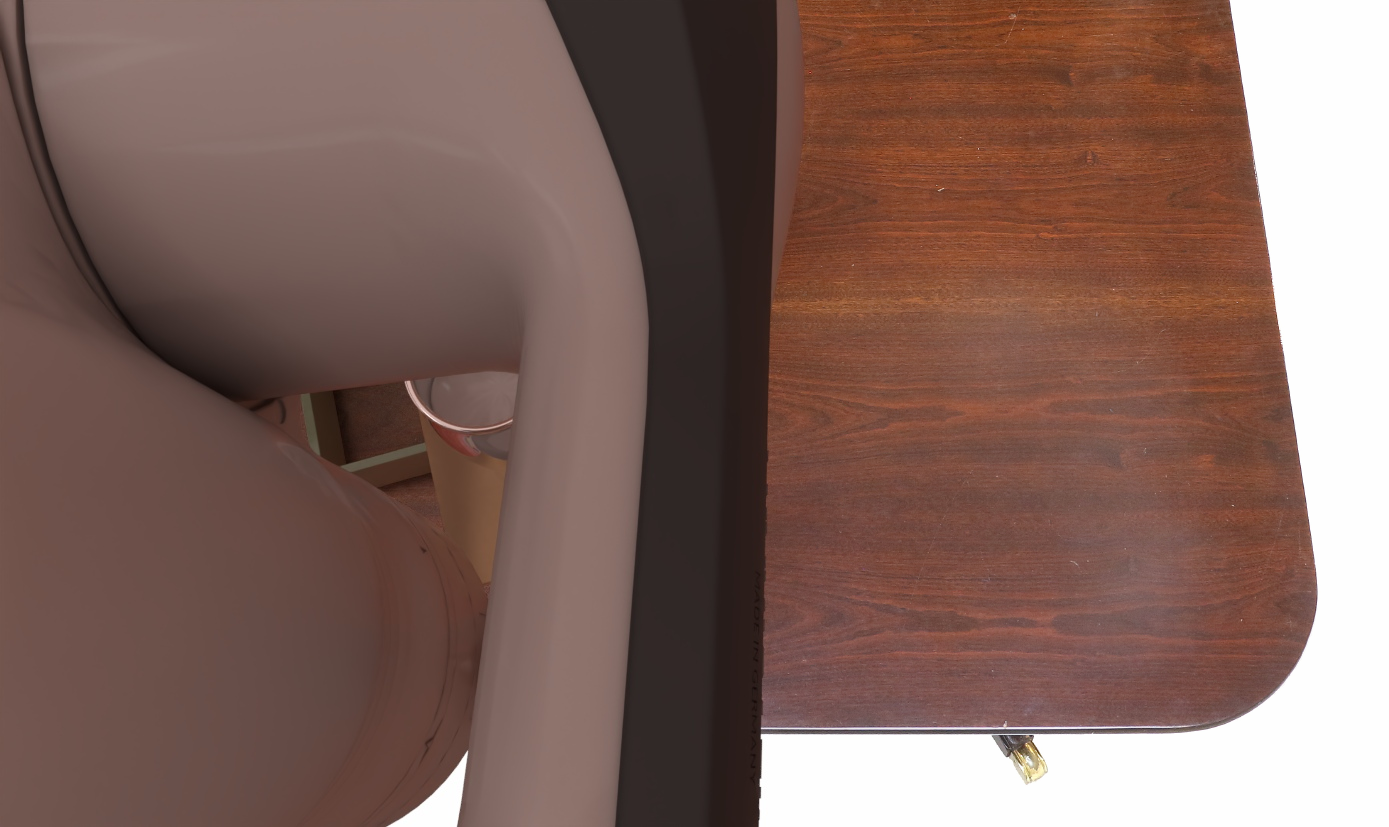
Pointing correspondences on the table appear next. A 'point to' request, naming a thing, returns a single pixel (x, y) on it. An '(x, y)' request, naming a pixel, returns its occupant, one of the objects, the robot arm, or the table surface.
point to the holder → (372, 469)
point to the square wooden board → (465, 501)
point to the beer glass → (470, 414)
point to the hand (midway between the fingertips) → (453, 671)
